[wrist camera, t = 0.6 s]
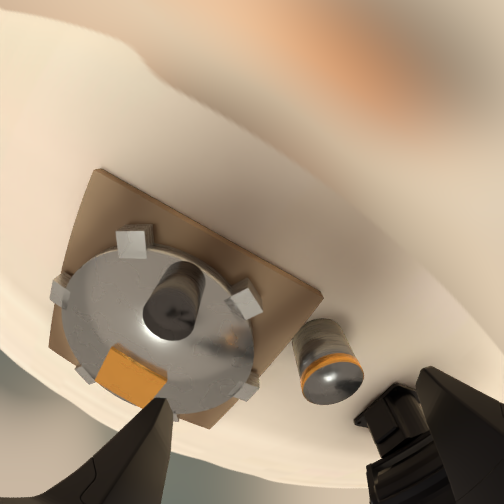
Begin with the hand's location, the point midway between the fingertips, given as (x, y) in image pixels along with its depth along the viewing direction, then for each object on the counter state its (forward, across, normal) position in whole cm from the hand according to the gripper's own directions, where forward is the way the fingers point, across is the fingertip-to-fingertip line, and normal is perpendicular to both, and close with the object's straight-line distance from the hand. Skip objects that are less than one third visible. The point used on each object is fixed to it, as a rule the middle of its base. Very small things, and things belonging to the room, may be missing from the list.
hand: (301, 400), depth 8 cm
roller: (+11, -3, +6) cm, 13 cm away
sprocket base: (+11, +9, +4) cm, 15 cm away
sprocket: (+10, +9, +4) cm, 14 cm away
